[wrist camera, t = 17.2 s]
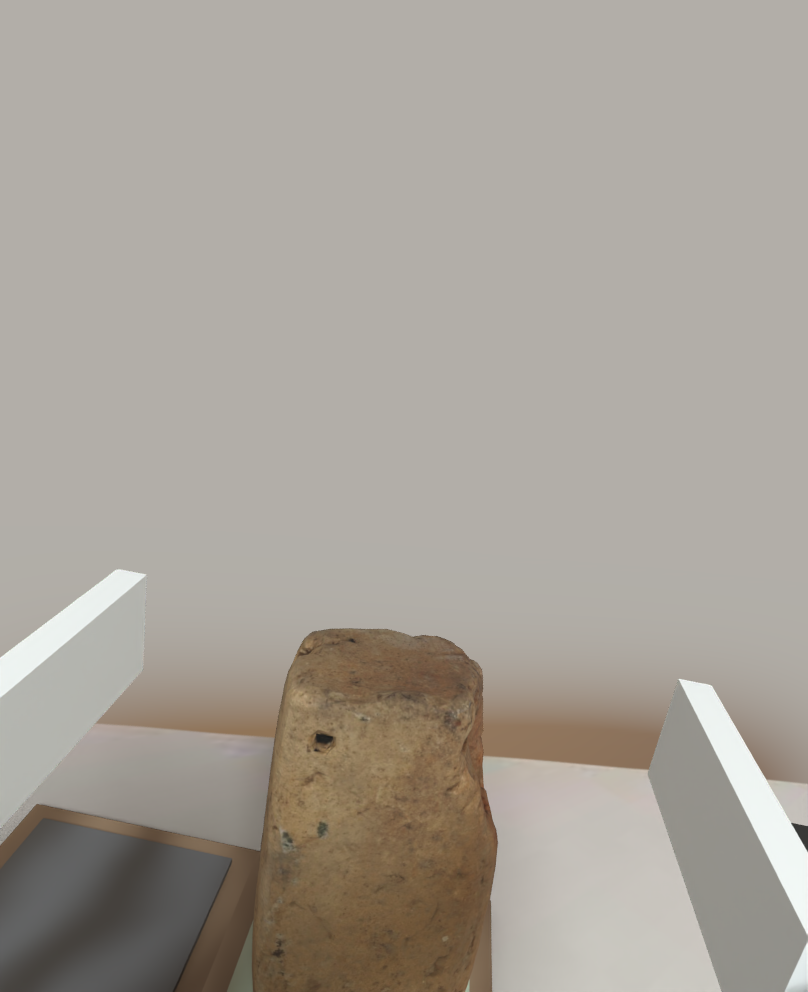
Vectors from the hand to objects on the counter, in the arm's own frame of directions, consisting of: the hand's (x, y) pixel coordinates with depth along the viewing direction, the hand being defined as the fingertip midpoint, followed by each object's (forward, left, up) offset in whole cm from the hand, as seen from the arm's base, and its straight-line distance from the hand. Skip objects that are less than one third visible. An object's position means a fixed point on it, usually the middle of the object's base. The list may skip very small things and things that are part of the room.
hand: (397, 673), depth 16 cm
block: (0, +11, -26) cm, 29 cm away
